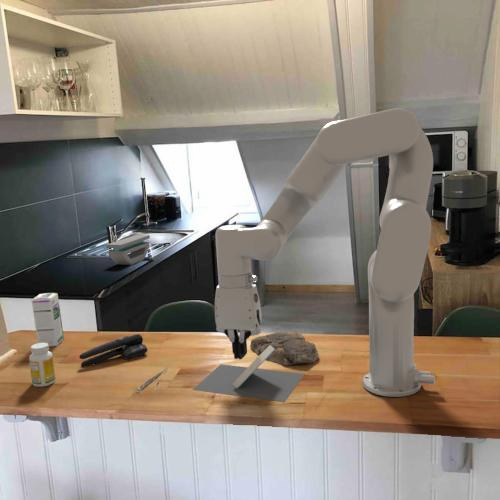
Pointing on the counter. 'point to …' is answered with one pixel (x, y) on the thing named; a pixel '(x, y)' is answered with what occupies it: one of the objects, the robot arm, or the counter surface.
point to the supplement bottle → (41, 365)
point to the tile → (253, 366)
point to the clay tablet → (286, 348)
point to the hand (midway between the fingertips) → (240, 356)
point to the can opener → (116, 350)
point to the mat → (251, 383)
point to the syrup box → (48, 319)
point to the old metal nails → (150, 381)
